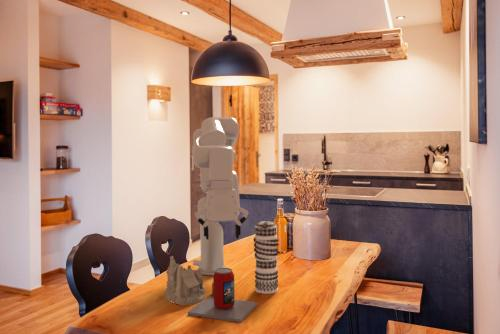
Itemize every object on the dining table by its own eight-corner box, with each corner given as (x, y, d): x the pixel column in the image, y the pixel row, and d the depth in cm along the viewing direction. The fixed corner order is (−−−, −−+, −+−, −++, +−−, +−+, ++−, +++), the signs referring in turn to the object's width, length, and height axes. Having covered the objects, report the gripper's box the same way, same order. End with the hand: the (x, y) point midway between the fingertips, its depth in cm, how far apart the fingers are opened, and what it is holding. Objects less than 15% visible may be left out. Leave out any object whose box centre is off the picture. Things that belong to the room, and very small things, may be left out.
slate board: (187, 315, 140) (187, 311, 140) (208, 299, 154) (208, 296, 154) (240, 322, 134) (240, 319, 134) (257, 305, 148) (257, 302, 148)
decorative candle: (261, 295, 157) (261, 225, 156) (249, 288, 165) (248, 221, 164) (283, 291, 161) (283, 223, 160) (270, 284, 169) (270, 219, 168)
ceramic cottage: (178, 307, 146) (179, 262, 147) (158, 296, 160) (158, 254, 160) (219, 300, 155) (219, 257, 156) (196, 290, 169) (197, 250, 169)
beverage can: (231, 311, 140) (231, 273, 140) (211, 309, 142) (210, 272, 141) (236, 303, 147) (236, 267, 146) (217, 302, 148) (216, 266, 148)
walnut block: (212, 297, 157) (211, 283, 156) (214, 292, 162) (214, 278, 161) (226, 297, 156) (226, 283, 156) (228, 292, 161) (228, 279, 161)
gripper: (194, 187, 138) (195, 241, 139) (249, 185, 140) (250, 239, 141) (194, 184, 145) (195, 236, 146) (246, 183, 147) (247, 234, 148)
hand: (222, 238), depth 144 cm, fingers open, 9 cm apart
